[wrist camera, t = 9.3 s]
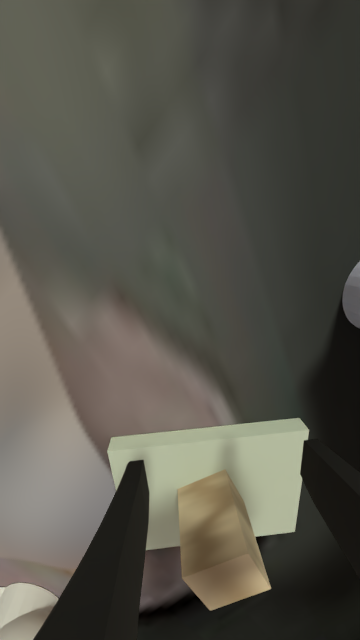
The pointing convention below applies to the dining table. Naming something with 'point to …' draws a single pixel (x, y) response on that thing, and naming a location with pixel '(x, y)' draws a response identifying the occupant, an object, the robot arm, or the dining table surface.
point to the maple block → (218, 543)
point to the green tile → (214, 456)
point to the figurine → (24, 610)
